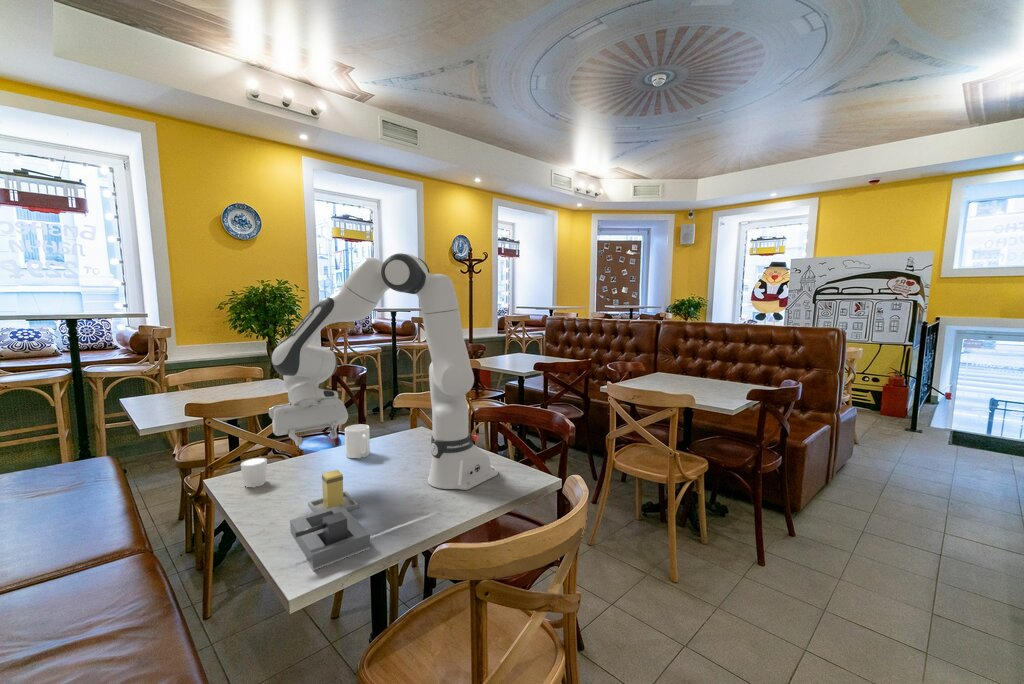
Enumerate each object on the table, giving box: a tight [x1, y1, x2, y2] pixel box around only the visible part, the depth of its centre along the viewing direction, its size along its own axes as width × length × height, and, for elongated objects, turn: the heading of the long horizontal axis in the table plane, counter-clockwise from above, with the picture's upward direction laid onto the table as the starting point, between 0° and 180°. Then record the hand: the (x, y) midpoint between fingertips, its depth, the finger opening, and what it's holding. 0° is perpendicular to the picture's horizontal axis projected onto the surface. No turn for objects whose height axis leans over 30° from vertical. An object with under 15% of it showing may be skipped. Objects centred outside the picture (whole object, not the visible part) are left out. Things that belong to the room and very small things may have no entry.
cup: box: [344, 423, 371, 459], centre depth 150 cm, size 8×12×10 cm
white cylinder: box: [240, 457, 268, 488], centre depth 127 cm, size 7×7×7 cm
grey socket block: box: [289, 505, 371, 571], centre depth 96 cm, size 14×18×8 cm
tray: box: [307, 490, 360, 513], centre depth 112 cm, size 10×10×1 cm
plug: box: [321, 469, 344, 509], centre depth 112 cm, size 4×4×9 cm
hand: (317, 440), depth 120 cm, fingers open, 8 cm apart
